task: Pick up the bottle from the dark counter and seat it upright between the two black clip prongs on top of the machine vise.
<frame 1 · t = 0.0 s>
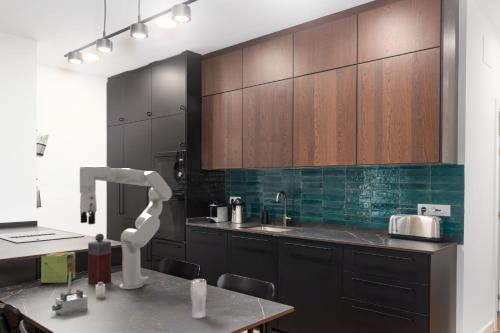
hand: (87, 223, 197), 37 cm above the table, tool pointing down, fingers open, 9 cm apart
machine vise: (71, 310, 174), on the table
tow hook: (73, 297, 196), on the table
red canister: (98, 282, 222), on the table
protein box: (58, 280, 229), on the table
bottle: (100, 296, 195), on the table
beer glass: (198, 316, 165), on the table
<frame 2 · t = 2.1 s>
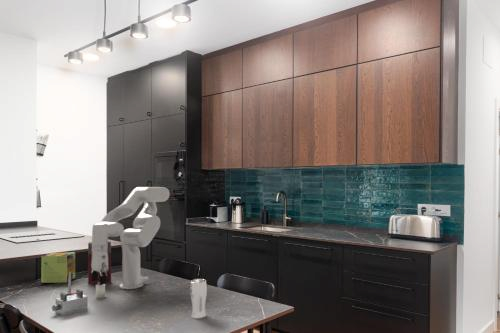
hand: (98, 282, 194), 7 cm above the table, tool pointing down, fingers open, 9 cm apart
nothing on the table moved.
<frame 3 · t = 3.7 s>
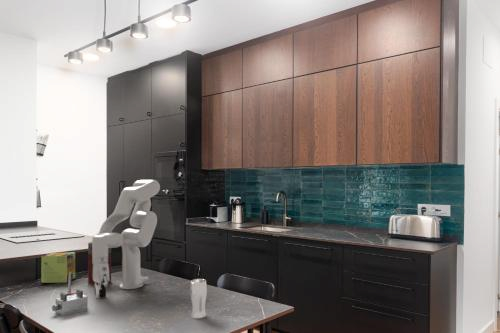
hand: (100, 295, 195), 1 cm above the table, tool pointing down, fingers closed on bottle, 4 cm apart
bottle: (100, 296, 195), on the table, touching gripper
everything else where it was.
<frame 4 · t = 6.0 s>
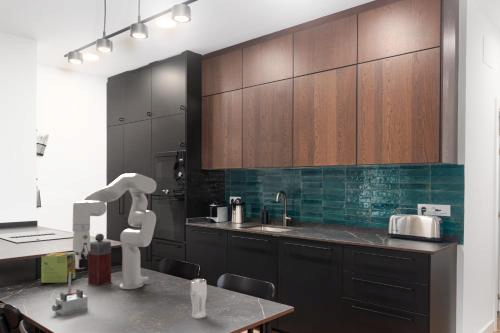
hand: (80, 266, 181), 18 cm above the table, tool pointing down, fingers closed on bottle, 4 cm apart
bottle: (80, 267, 181), point 18 cm above the table, touching gripper
everything else where it was.
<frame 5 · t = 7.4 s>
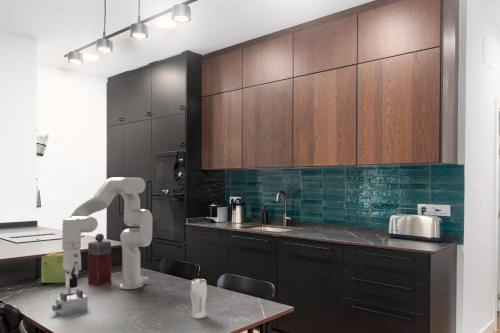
hand: (71, 285, 174), 11 cm above the table, tool pointing down, fingers closed on bottle, 4 cm apart
bottle: (71, 287, 174), point 11 cm above the table, touching gripper
everything else where it was.
when the fingers open (8 cm above the table, at t = 8.6 s): bottle drops 1 cm, resting on machine vise.
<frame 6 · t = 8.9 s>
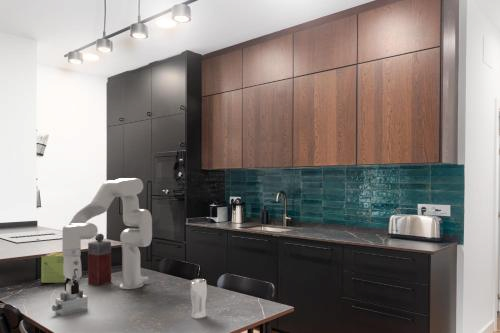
hand: (71, 291, 174), 8 cm above the table, tool pointing down, fingers open, 7 cm apart
bottle: (71, 297, 174), point 6 cm above the table, touching machine vise
everything else where it was.
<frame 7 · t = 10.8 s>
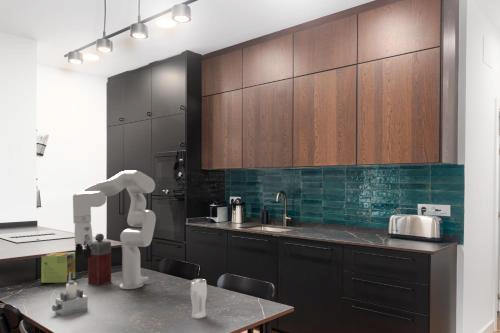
hand: (83, 256, 180), 23 cm above the table, tool pointing down, fingers open, 9 cm apart
nothing on the table moved.
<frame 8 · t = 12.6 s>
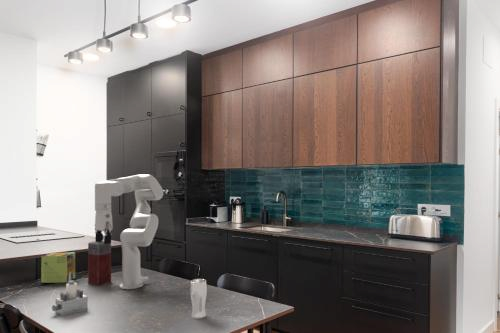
hand: (103, 242, 188), 28 cm above the table, tool pointing down, fingers open, 9 cm apart
nothing on the table moved.
at the end: bottle 0.1 cm off-centre on the machine vise, point 6.0 cm above the machine vise's base; bottle tilted 0°; the gripper is holding nothing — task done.
